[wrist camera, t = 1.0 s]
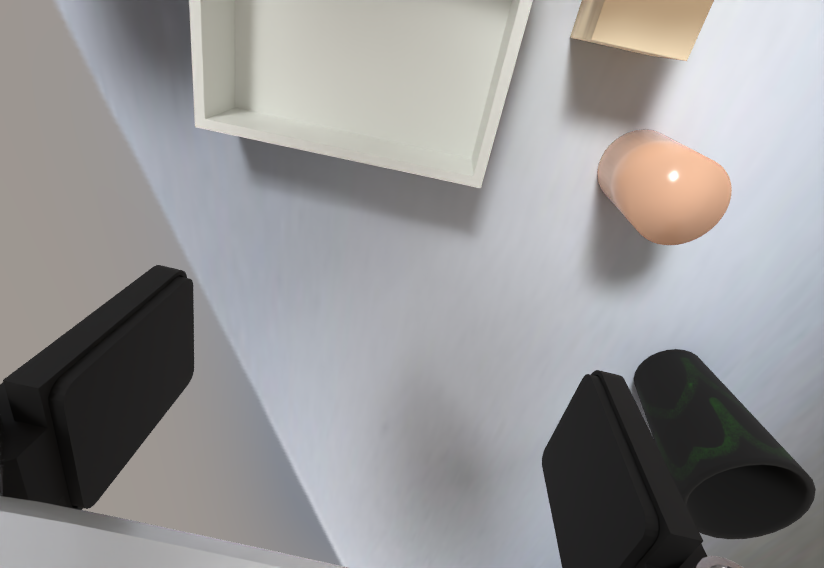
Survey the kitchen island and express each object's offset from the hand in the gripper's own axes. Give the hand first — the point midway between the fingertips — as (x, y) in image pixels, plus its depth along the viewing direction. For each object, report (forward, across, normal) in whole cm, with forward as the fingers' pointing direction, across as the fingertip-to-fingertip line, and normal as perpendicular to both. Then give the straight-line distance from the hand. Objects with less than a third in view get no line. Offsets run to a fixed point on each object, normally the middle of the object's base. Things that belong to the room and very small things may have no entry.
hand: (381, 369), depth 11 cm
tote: (+23, +6, -6) cm, 25 cm away
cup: (+24, -24, +13) cm, 37 cm away
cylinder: (+24, -14, -2) cm, 27 cm away
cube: (+23, -9, -11) cm, 27 cm away
